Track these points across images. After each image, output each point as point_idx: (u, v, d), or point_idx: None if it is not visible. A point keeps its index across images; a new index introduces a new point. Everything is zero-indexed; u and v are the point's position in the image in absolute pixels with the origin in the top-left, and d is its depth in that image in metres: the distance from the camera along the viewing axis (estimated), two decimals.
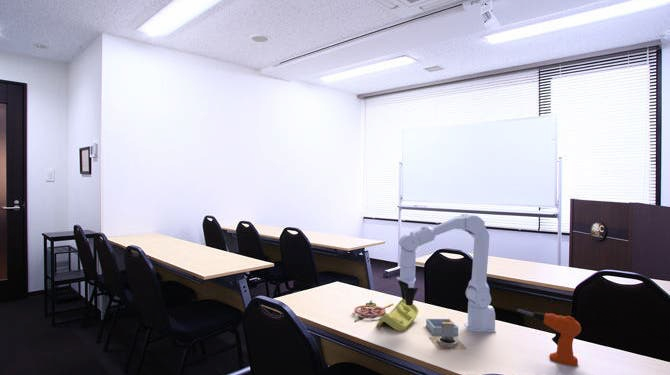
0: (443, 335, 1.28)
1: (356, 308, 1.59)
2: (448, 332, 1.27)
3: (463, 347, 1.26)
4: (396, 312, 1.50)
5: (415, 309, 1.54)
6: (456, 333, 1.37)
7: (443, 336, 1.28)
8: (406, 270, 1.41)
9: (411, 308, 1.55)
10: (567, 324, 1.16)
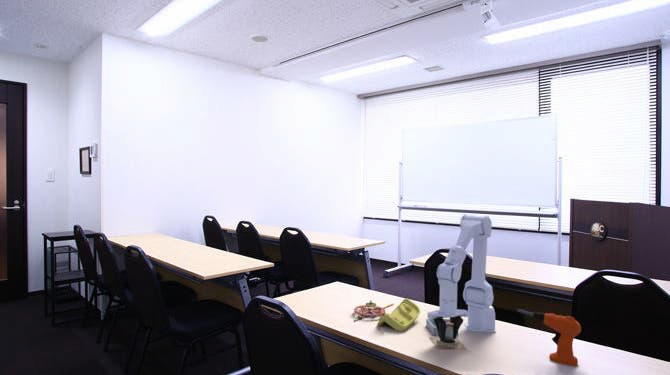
0: None
1: (356, 308, 1.60)
2: (448, 332, 1.27)
3: (463, 347, 1.26)
4: (397, 312, 1.50)
5: (417, 309, 1.54)
6: None
7: None
8: None
9: (413, 308, 1.54)
10: (567, 324, 1.16)
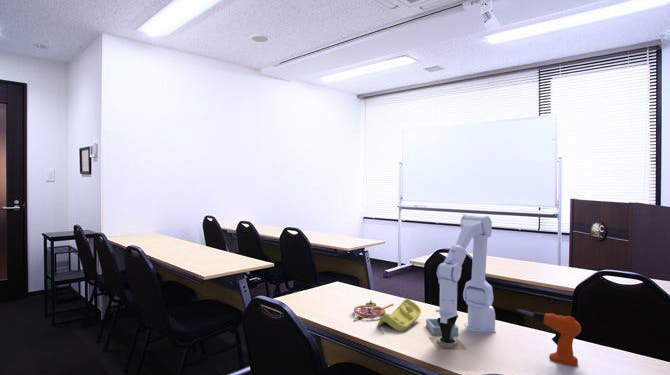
0: None
1: (356, 308, 1.60)
2: (452, 331, 1.28)
3: (463, 347, 1.26)
4: (398, 312, 1.50)
5: (418, 310, 1.53)
6: (456, 333, 1.37)
7: None
8: (443, 302, 1.27)
9: (414, 309, 1.54)
10: (567, 324, 1.16)
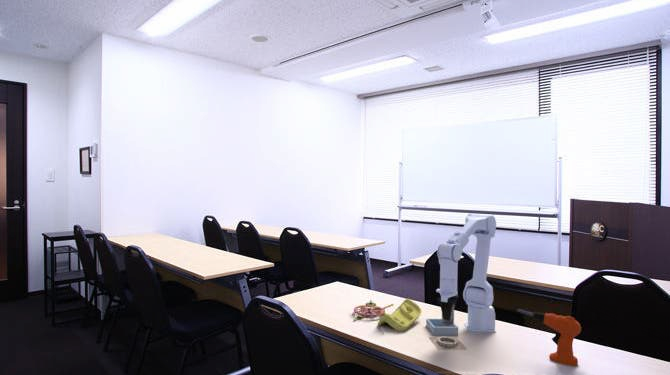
0: None
1: (355, 308, 1.60)
2: (453, 311, 1.28)
3: (463, 347, 1.26)
4: (398, 312, 1.50)
5: (418, 310, 1.53)
6: (456, 333, 1.37)
7: None
8: (444, 282, 1.27)
9: (414, 309, 1.54)
10: (567, 324, 1.16)
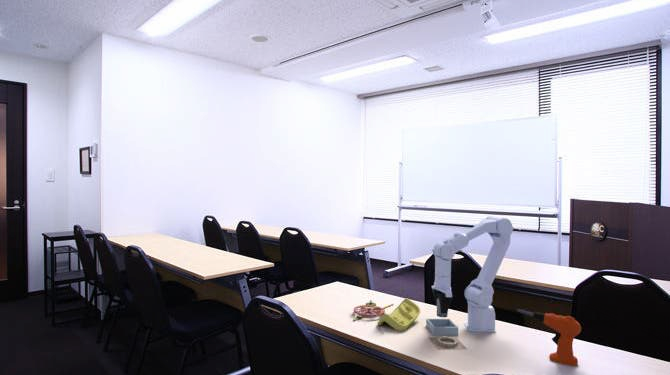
0: None
1: (355, 308, 1.60)
2: None
3: (463, 347, 1.26)
4: (397, 312, 1.51)
5: (417, 309, 1.54)
6: (456, 333, 1.37)
7: None
8: (442, 279, 1.39)
9: (413, 308, 1.55)
10: (567, 324, 1.16)
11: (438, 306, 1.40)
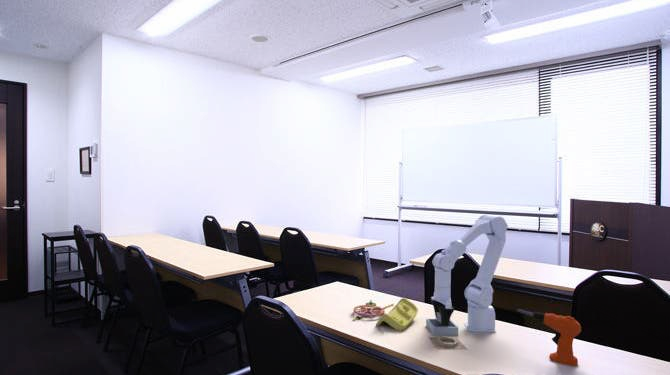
0: None
1: (355, 308, 1.60)
2: None
3: (463, 347, 1.26)
4: (396, 311, 1.51)
5: (414, 308, 1.55)
6: (456, 333, 1.37)
7: None
8: (442, 290, 1.39)
9: (410, 307, 1.55)
10: (567, 324, 1.16)
11: (438, 320, 1.40)
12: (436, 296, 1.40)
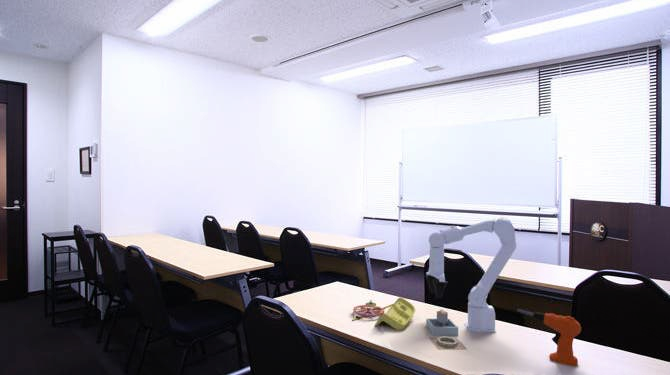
0: (444, 323, 1.39)
1: (355, 307, 1.60)
2: (447, 318, 1.40)
3: (463, 347, 1.26)
4: (394, 311, 1.52)
5: (412, 308, 1.56)
6: (456, 333, 1.37)
7: (444, 324, 1.39)
8: (436, 265, 1.49)
9: (408, 307, 1.56)
10: (567, 324, 1.16)
11: (438, 320, 1.40)
12: (430, 271, 1.51)
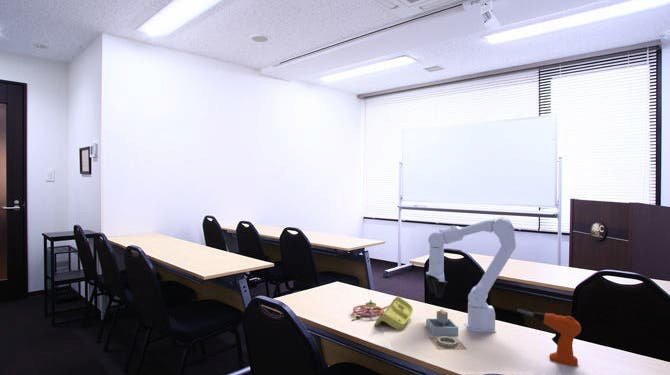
0: (444, 323, 1.39)
1: (355, 307, 1.60)
2: (447, 318, 1.40)
3: (463, 347, 1.26)
4: (392, 311, 1.52)
5: (409, 307, 1.57)
6: (456, 333, 1.37)
7: (444, 324, 1.39)
8: (436, 265, 1.50)
9: (405, 306, 1.57)
10: (567, 324, 1.16)
11: (438, 320, 1.40)
12: (430, 271, 1.51)
